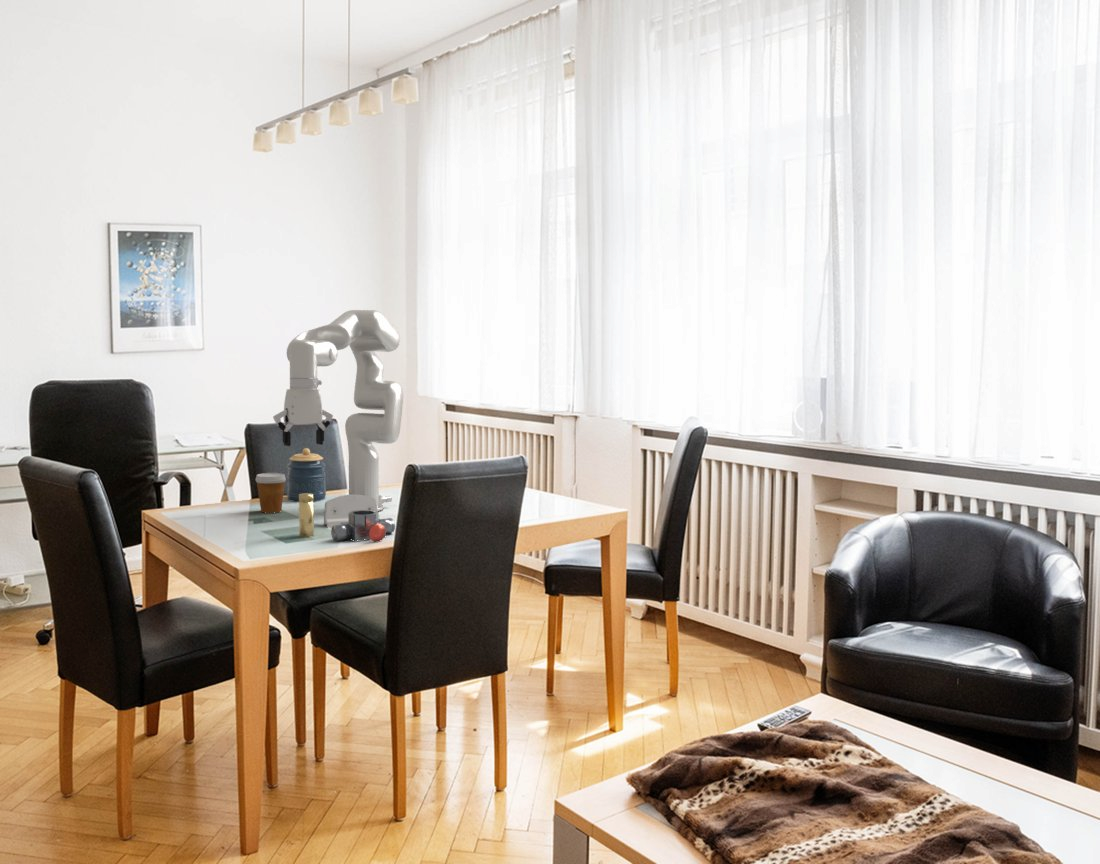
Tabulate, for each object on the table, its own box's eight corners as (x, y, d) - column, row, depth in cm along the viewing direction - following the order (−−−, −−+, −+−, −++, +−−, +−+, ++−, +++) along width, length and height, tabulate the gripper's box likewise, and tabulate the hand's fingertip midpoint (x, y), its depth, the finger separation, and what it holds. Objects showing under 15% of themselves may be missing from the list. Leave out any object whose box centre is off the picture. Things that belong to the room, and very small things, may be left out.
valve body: (383, 530, 289) (383, 507, 288) (405, 537, 280) (405, 513, 279) (328, 538, 277) (327, 514, 276) (349, 546, 268) (348, 520, 267)
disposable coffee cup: (258, 515, 309) (257, 477, 308) (253, 510, 318) (253, 473, 317) (289, 513, 313) (288, 476, 312) (284, 508, 322) (283, 472, 321)
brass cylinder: (309, 533, 283) (309, 492, 282) (316, 536, 280) (315, 494, 279) (296, 535, 281) (296, 494, 279) (303, 538, 278) (302, 496, 276)
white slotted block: (326, 527, 292) (323, 494, 294) (323, 530, 296) (320, 497, 298) (381, 524, 299) (378, 491, 301) (378, 526, 303) (375, 494, 305)
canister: (333, 497, 344) (332, 447, 342) (313, 503, 332) (312, 451, 330) (300, 494, 348) (299, 445, 346) (279, 500, 336) (279, 449, 334)
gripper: (326, 383, 286) (326, 442, 287) (268, 384, 276) (269, 445, 277) (337, 384, 280) (337, 444, 281) (279, 385, 270) (279, 447, 271)
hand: (303, 444), depth 279 cm, fingers open, 9 cm apart
